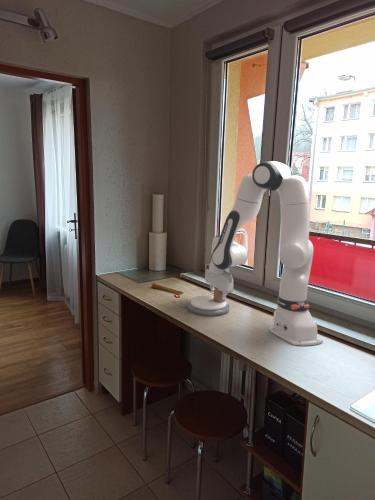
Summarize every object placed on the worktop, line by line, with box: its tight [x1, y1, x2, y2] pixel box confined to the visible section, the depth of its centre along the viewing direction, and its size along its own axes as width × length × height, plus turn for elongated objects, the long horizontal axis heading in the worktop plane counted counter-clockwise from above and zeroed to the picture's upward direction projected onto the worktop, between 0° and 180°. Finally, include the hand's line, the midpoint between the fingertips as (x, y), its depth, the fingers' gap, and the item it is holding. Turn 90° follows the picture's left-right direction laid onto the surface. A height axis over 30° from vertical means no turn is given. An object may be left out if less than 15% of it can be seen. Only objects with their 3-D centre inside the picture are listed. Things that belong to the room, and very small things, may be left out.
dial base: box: [187, 300, 230, 317], centre depth 177 cm, size 20×20×2 cm
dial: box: [190, 288, 227, 311], centre depth 176 cm, size 17×17×6 cm
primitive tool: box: [151, 282, 185, 296], centre depth 202 cm, size 19×6×4 cm, turn 64°
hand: (218, 296), depth 178 cm, fingers open, 8 cm apart
